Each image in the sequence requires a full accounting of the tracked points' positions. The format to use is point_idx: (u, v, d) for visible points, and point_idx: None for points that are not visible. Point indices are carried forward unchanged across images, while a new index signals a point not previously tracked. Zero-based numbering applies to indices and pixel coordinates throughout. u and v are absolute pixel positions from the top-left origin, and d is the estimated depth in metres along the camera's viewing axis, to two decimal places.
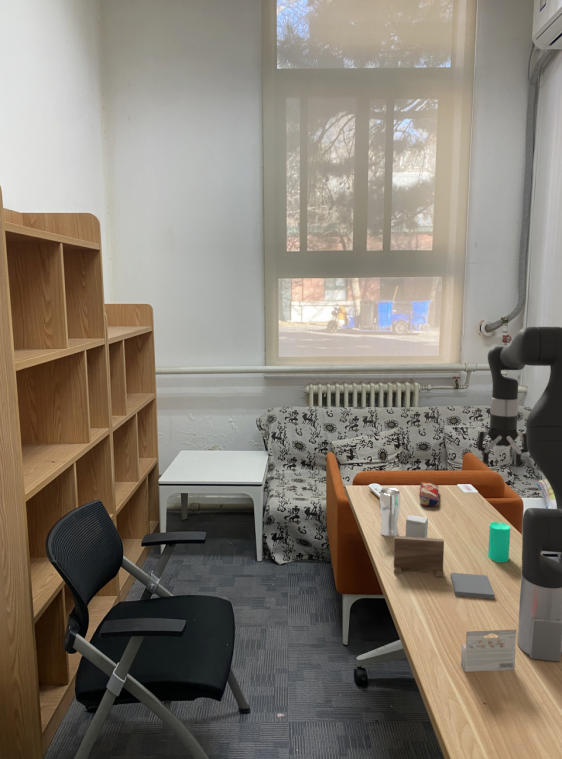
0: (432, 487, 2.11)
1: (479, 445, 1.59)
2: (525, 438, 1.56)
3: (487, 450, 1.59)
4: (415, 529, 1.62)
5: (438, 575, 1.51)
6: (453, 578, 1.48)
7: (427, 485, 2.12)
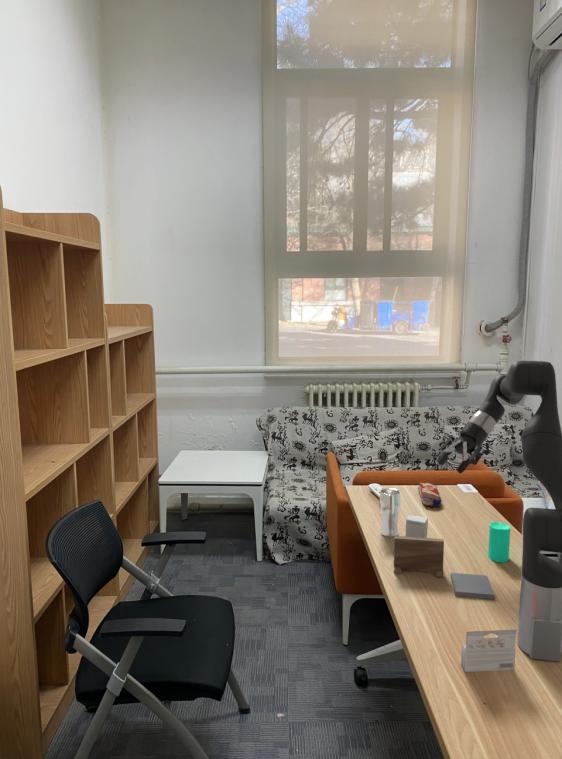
0: (432, 487, 2.11)
1: (443, 445, 1.72)
2: (477, 449, 1.60)
3: (445, 450, 1.69)
4: (415, 529, 1.62)
5: (438, 575, 1.51)
6: (453, 578, 1.48)
7: (427, 485, 2.12)
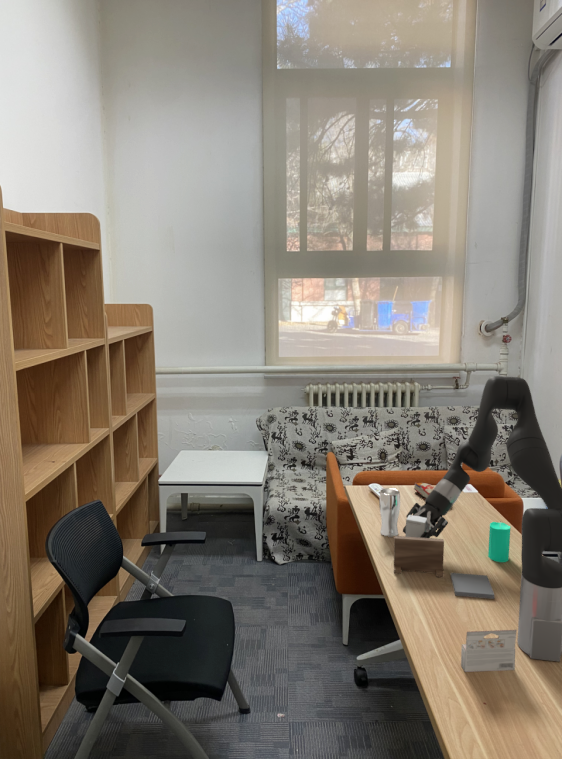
0: (432, 486, 2.11)
1: (409, 513, 1.70)
2: (439, 521, 1.59)
3: None
4: (415, 529, 1.62)
5: (438, 575, 1.51)
6: (453, 578, 1.48)
7: (427, 485, 2.12)
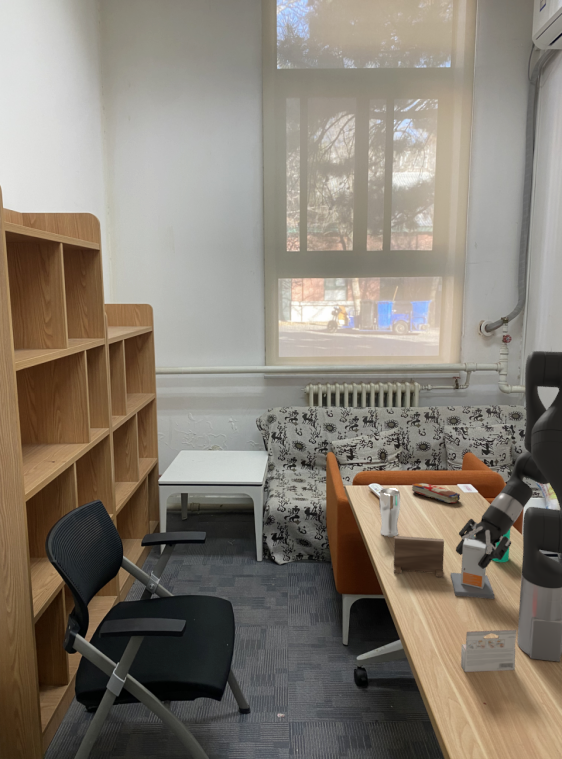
0: (433, 485, 2.13)
1: (462, 530, 1.51)
2: (502, 541, 1.39)
3: (464, 537, 1.48)
4: (473, 555, 1.42)
5: (438, 575, 1.51)
6: (453, 578, 1.48)
7: (428, 485, 2.12)
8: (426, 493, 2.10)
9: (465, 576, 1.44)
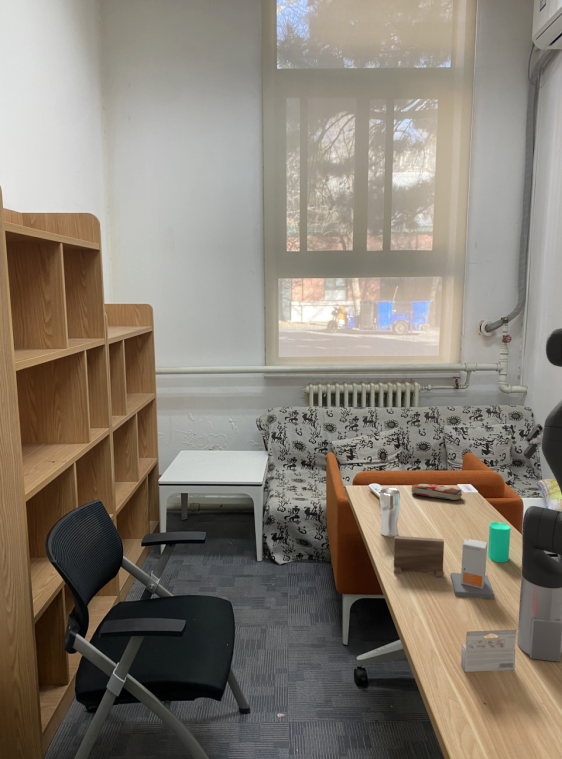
0: None
1: (529, 435, 1.45)
2: None
3: (533, 441, 1.43)
4: (473, 555, 1.42)
5: (438, 575, 1.51)
6: (453, 578, 1.48)
7: (429, 485, 2.12)
8: (430, 493, 2.10)
9: (465, 576, 1.44)
